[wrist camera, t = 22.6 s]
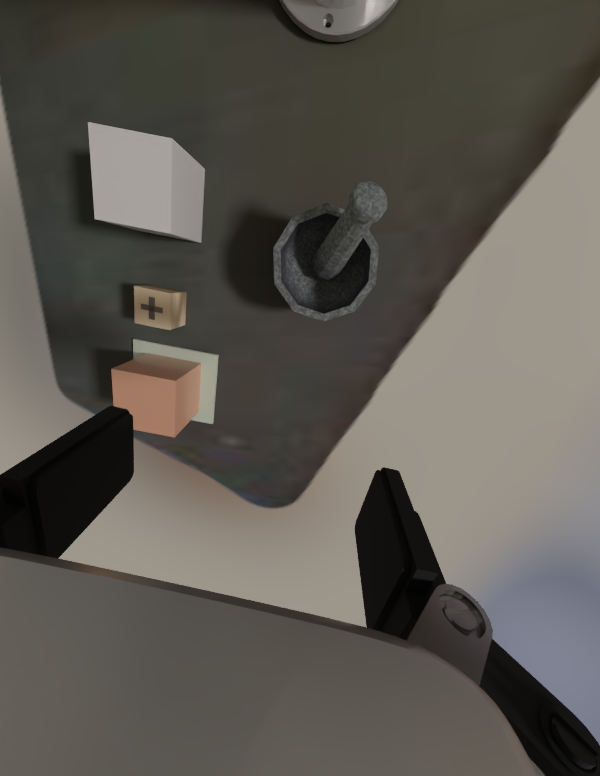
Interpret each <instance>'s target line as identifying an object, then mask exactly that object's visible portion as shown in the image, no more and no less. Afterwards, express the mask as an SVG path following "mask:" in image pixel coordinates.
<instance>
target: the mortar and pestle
mask: <svg viewBox="0 0 600 776" xmlns="http://www.w3.org/2000/svg"><path fill="white" fill-rule="evenodd" d="M386 209H387V195H386V194H385V193H384V191H383V190H382V188H381V187H380V186H379V185H377V184H375V183H373V182H371V181H366V182H361V183H358V185H357V186H356V187H355V189H354V190H353V191H352V193H351V195H350V196H349V205H348V206H347V208H346V209H342V208H339V207H336V206H333V205H331V204H328V203H326V204H323V205H320V206H318V207H315V208H313V209H310V210H308V211H305V212H303V213H300V214H298V215H295V216H293V217H292V218H291V220H290V222H289V223H288V225H287V226H286V228H285V230H284V231H283V233H282V235H281V236H280V238H279V239H278V241H277V243H276V244H275V246H274V248H273V258H274V284H275V286H276V287H277V289H278V290H279V291H280V293H281V294H282V296H283V297H284V298H285V300H286V301H287V303H288V304H289V305H290V307H291V308H292V310H293V311H294V312H297V313H300V314H303V315H306V316H309V317H312V318H315V319H318V320H321V321H327V320H330V319H333V318H336V317H339V316H342V315H345V314H348V313H352V312H355V310H356V309H357V308H358V306H359V305H360V304H361V303H362V301H363V300H364V299H365V297H366V296H367V295H368V294H369V292H370V291H371V290H372V288H373V287H374V286H375V285H376V277H377V265H378V254H379V246H378V244H377V243H376V241H375V239H374V238H373V236H372V234H371V232H370V231H369V228H370V226H371V225H372V223H373V222H377V221H378V220H379V219H380V218H381V216H382V215H383V213H384V212H385V210H386Z"/></svg>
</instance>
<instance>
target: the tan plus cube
mask: <svg viewBox="0 0 600 776" xmlns="http://www.w3.org/2000/svg"><path fill="white" fill-rule="evenodd" d="M186 294H187V292H185V291H180V290H175V289H170V288H165V287H161V286H156V285H143V286H134V315H135V323H137V324H142V325H147V326H152V327H157V328H162V329H167V330H171V329H174V328H177V327H181V326H184V325H185V316H186Z"/></svg>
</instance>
